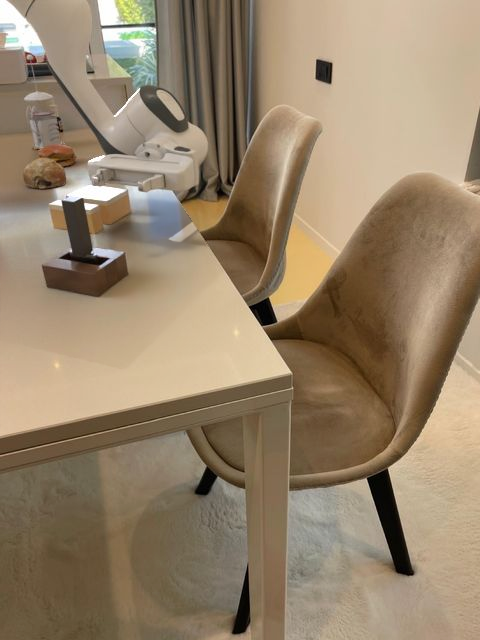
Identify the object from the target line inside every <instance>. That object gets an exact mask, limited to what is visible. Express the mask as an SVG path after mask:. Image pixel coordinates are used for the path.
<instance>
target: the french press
mask: <svg viewBox="0 0 480 640" xmlns="http://www.w3.org/2000/svg"><path fill="white" fill-rule="evenodd" d="M26 60H29V61H30V65H31V66H30V67H31V71H32V75H33V79H34V80H33V81H34V84H35V85H34V86H35V90H36V91H35V92H30V93H29V94H27V95H26V96H25V97H24V98H23V100H24V101H25V102H28V103H39V108H40V110H37V107H36V105H33V106H32V107H31V105H28V106H27V107H26V115H25V116H26V117H25V119H26V120H27V121H26V123H27V125H28V128H29V129H30V130H31V133H32V137H33V141H34V144H35V146H36V147H40V148H43V147H45V146H48V145H61V144H62V142H63V141H62V139H61V135H60V130H59V129H60V128H59V126H58V125H59V123H58V118H57V116H56V115H54V114H55V110H52V109H51V110H50V109H48V110H44V109H42V105H41V102H47V101H52V100H53V98H54V96H53V95H51V94H49V93H48V92H44V91H43V92H42V91H38V87H37V82H36V77H35V73H34V67H33V64H32V60H34V56H33V55H32V54H27V55H26ZM28 110H30V112H29V113H28ZM28 115H29V116H31V117H29V119H28ZM36 124H37V125H36ZM39 137H40V138H39Z"/></svg>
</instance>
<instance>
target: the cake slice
mask: <svg viewBox="0 0 480 640" xmlns="http://www.w3.org/2000/svg"><path fill="white" fill-rule="evenodd" d="M61 200H62V199H56V200H54V201H52V202H50V203H48V208H49V213H50V216H51V222H52V226H53V228H54V229H59V230H65V231H68V230H67V225H66V221H65V216H64V211H63V207H62V202H61ZM84 204H85V210H86V215H87V220H88V226H89V231H90V235H91V234H92V235H95V234H97V233H99V232H101V231H102V230H104V224H103V223H102V219H101V213H100V207H99V205H95V204H87V203H84Z"/></svg>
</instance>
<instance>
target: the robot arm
mask: <svg viewBox="0 0 480 640" xmlns="http://www.w3.org/2000/svg"><path fill="white" fill-rule="evenodd" d="M6 1H7V2H8V3H9V4H10V5H11V6H12V7H14V9H15V10H16V11H17V12H18V13H19V14H20V16H21V17H23V19H24V20H25V21H26V22H27V23H28V24H29V26H30V27H31V28H32V30H33V31H34V32H35V33H36V36H37V37H38V39H39V42H40V43H41V46H42V48H43V50H44V53H45V61H46V65H47V67H48V70H49V71H50V73H51V75H52V76H53V78H54V79H55V81H56V82H57V84H58V86H60V88H61V89H62V91H63V92H64V94H65V95H66V97H67V98H68V99H69V101H70V102H71V103H72V105H73V106H74V107H75V109H76V110H77V111H78V114H79V115H80V116H81V117H82V119H83V120H84V122H85V123H86V124H87V125H88V127H89V129H91V131H92V133H93V135H94V136H95V139H97V141H98V143H99V145H100V147H101V149H102V150H103V152H104V154H105V155H102V156H99V157H95V158H93V159H91V160H88V161H87V163H86V164H87V165H86V166H87V167H86V168H87V173H88V177H89V179H90V182H91V185H93V186H98V187H101V186H105V185H106V184H111V185H120V186H130V187H137V189H138V192H141V193H149V192H151V191H154V190H163V191H164V190H165V191H171V192H185V191H188V190H190V189H192V188H193V187H196V186H198V185H199V183H200V169H199V167H200V166H201V165H202V164H203V162H204V161H205V159H206V158H207V155H208V153H209V152H208V151H209V142H208V138H207V136H206V134H205V133H204V131H203V130H202V129H201V128H200V127H199V126H197V125H195V124H192V123H191V122H190V121H188V118H187V115H186V113H185V111H184V108H183V106H182V105H181V103H180V101H178V99H177V98H176V97H175V95H174V94H173V93H171V92H170V91H169V90H167V89H165V88H163V87H160V86H158V85H153V84H143V85H141V86H140V88H139V89H138V90H137V91H136V92H135V93H133V95H132V96H131V97H130V98H129V99H128V100H127V102H126V103H125V105H124V106H122V108H121V109H120V110H118V112H117V113H116V114H113V113H112V111H111V110H110V108H109V107H108V105H107V104H106V102H105V101H104V100H103V98H102V96H101V95H100V94H99V92H98V91H97V89H96V88H95V87H94V85H93V83H92V81H90V78H89V75H88V71H87V57H88V56H87V55H88V51H89V46H90V42H91V38H92V35H93V34H92V33H93V15H92V14H93V13H92V10H91V6H90V4H89V2H88V0H6Z"/></svg>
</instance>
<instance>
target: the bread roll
mask: <svg viewBox="0 0 480 640" xmlns="http://www.w3.org/2000/svg"><path fill="white" fill-rule="evenodd" d="M22 178H23V182H24V184H25V185H26V186H27V187H29V188H32V189H34V188H36V190H44V189H50V188H57V187H56V186H58V187H61V186H60V185H62V186H64V185H65V184H66V183H67V174H66V170H65V167H62V166H61V165H60V164H58V163H56V162H55V161H54V160H52V159H48V158H39V157H38V158H37V159H35V160H33V161H31V162H30V163H28V164H27V165H26V166H25V167H24V170H23V174H22ZM64 183H65V184H64ZM63 184H64V185H63ZM38 188H39V189H38Z"/></svg>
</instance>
